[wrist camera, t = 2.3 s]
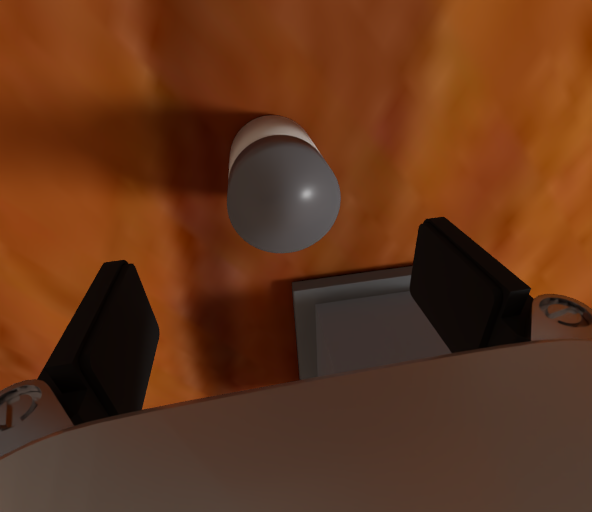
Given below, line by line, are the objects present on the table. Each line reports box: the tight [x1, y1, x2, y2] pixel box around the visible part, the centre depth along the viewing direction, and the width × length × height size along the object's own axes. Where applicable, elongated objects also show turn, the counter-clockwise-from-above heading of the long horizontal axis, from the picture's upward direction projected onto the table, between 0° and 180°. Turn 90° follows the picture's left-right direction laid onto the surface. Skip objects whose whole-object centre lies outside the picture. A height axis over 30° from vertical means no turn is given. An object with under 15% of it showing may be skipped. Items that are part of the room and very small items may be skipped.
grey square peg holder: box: [292, 266, 451, 380], centre depth 25 cm, size 14×13×8 cm
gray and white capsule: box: [227, 115, 340, 253], centre depth 17 cm, size 5×5×6 cm
